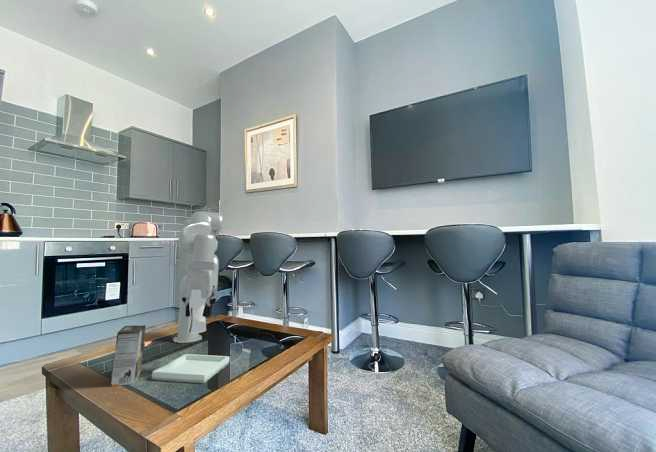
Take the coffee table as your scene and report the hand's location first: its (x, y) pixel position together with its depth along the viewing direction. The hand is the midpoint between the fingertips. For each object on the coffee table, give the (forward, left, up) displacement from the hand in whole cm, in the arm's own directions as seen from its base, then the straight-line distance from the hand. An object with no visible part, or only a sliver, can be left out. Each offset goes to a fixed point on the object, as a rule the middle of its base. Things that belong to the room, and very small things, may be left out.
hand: (198, 316), depth 100 cm
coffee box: (+10, -17, -19) cm, 27 cm away
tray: (0, 0, -19) cm, 19 cm away
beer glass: (0, 0, -5) cm, 5 cm away
